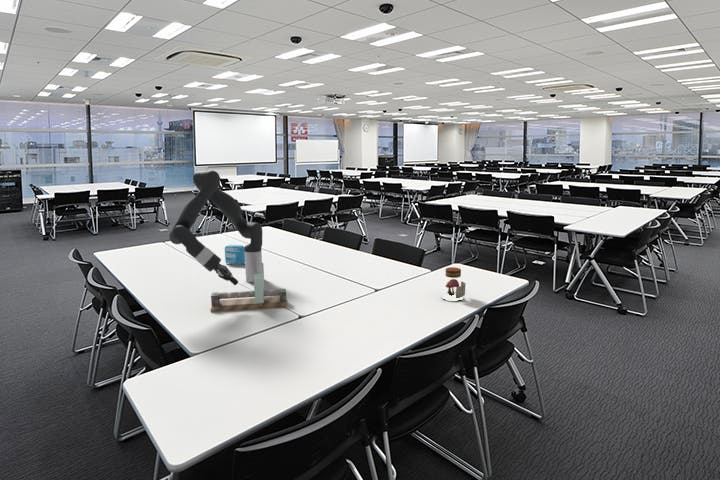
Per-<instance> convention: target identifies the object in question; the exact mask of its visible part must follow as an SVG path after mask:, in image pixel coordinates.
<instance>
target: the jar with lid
mask: <svg viewBox="0 0 720 480" xmlns="http://www.w3.org/2000/svg"><path fill="white" fill-rule="evenodd" d="M445 277H447V278H451V279H449V281H447V282H446V284H445V287H446V288H447V289H448V290H447V292H446V294H449V295H451V296H452V295H454V294H456V298H460V297H464V296H466V282H464V281H461V282H460V283H459V281H458V280H457V279H458V278H461V277H462V269H461V268H459V267H455V266H454V267H447V268H445ZM454 288H456V289H455V290H454Z"/></svg>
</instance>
